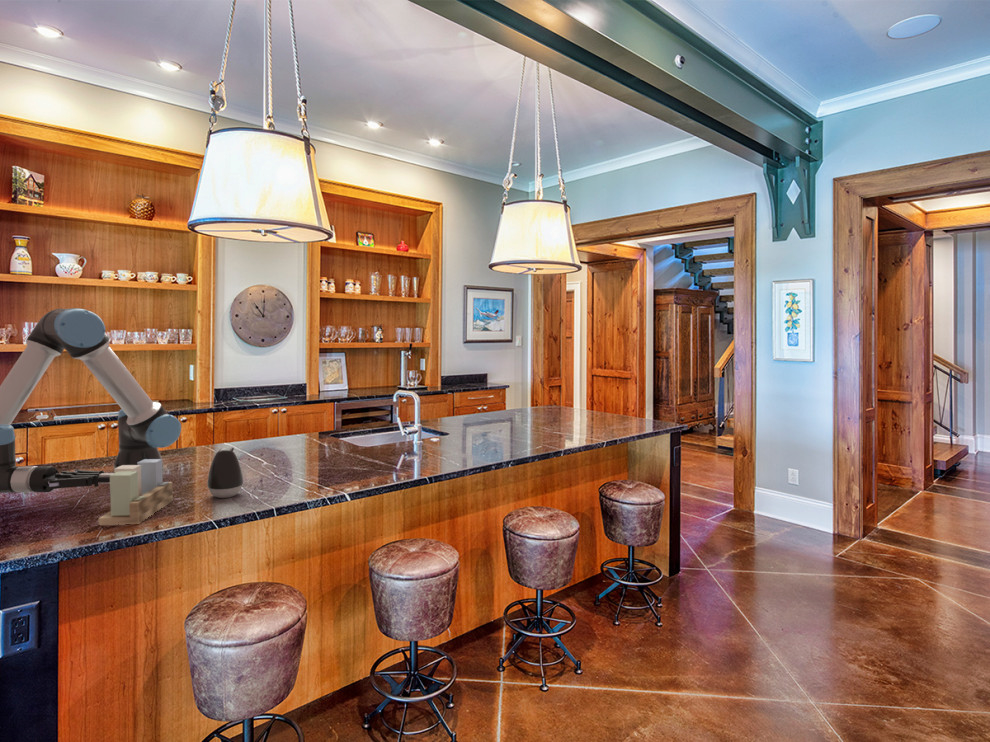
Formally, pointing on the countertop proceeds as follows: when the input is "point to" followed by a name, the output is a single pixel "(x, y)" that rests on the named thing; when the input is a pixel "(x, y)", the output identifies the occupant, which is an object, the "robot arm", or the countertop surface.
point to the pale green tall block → (123, 492)
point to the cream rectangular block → (127, 469)
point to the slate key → (150, 474)
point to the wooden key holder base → (142, 506)
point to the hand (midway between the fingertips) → (124, 478)
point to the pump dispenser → (225, 474)
